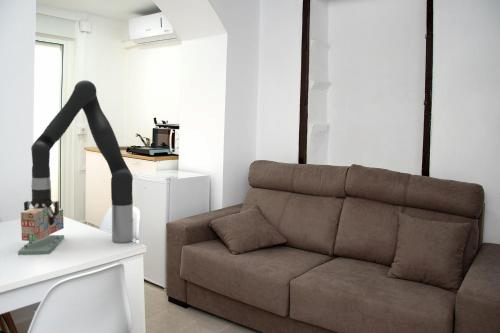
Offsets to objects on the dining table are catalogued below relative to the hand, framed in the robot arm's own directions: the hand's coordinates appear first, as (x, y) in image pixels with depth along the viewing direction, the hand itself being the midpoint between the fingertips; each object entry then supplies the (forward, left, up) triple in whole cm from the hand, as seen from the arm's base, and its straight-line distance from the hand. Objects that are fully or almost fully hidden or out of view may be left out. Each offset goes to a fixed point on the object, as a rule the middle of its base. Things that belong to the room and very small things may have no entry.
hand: (42, 224), depth 194 cm
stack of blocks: (0, -1, -5) cm, 5 cm away
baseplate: (0, 0, -9) cm, 9 cm away
